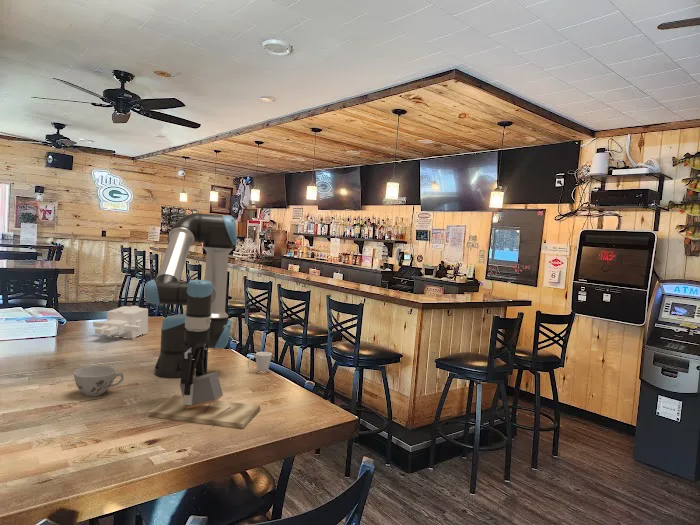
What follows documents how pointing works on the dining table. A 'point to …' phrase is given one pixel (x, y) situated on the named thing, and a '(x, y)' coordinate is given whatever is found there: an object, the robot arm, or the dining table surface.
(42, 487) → the dining table surface
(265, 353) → the cup
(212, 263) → the robot arm
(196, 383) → the block
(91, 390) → the teacup
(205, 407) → the board
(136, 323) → the white voxel figure
